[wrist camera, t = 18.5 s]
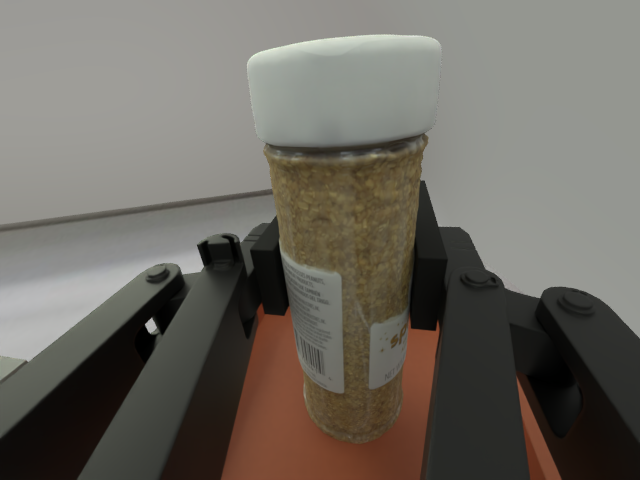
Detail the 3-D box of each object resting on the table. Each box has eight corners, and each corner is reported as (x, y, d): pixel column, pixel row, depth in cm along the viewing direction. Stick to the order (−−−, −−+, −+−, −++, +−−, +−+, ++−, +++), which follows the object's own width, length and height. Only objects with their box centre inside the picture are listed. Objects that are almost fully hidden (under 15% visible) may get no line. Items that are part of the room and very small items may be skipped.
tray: (479, 324, 19) (487, 296, 18) (654, 828, 6) (718, 845, 5) (266, 304, 23) (261, 280, 21) (103, 611, 10) (68, 592, 9)
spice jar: (421, 431, 12) (498, 21, 5) (311, 462, 11) (237, 37, 4) (379, 343, 16) (391, 47, 9) (296, 362, 15) (244, 58, 8)
